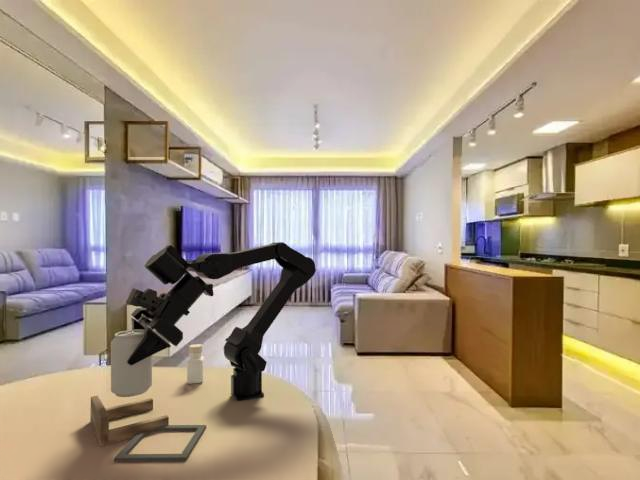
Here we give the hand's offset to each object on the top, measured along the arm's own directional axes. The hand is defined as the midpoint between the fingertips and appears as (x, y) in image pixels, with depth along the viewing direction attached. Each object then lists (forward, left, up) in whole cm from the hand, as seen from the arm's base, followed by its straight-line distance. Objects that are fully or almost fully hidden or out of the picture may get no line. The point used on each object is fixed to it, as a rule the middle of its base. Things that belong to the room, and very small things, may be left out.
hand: (124, 359), depth 77 cm
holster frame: (-7, +11, -13) cm, 18 cm away
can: (-1, 0, -7) cm, 7 cm away
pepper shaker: (-17, -21, -13) cm, 30 cm away
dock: (-1, 0, -13) cm, 13 cm away
